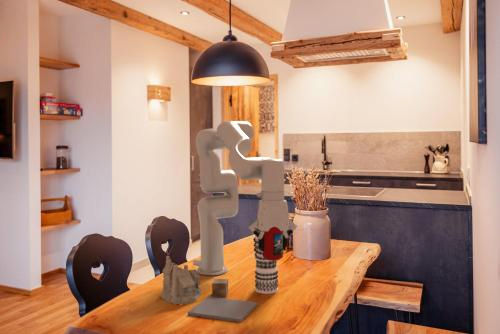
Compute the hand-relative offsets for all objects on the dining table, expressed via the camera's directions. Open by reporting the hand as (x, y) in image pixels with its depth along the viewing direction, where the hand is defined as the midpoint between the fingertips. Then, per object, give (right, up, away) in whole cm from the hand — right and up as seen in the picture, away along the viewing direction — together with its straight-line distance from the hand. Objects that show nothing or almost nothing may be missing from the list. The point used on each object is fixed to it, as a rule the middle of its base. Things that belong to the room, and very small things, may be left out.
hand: (272, 249), depth 148 cm
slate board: (-16, -19, -4) cm, 25 cm away
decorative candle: (-2, -18, +15) cm, 24 cm away
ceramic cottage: (-31, -19, +10) cm, 38 cm away
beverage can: (0, -3, 0) cm, 3 cm away
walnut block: (-18, -18, +11) cm, 28 cm away
